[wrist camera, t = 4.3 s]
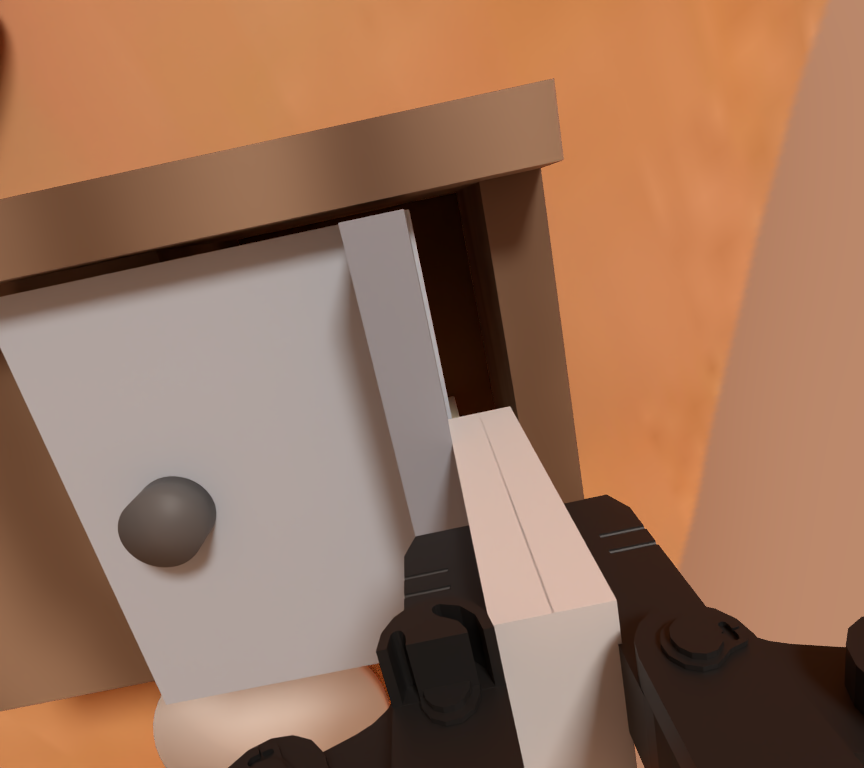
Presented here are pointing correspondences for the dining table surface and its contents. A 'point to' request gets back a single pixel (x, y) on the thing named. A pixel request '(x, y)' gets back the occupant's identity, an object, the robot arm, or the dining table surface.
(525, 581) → the robot arm
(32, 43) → the dining table surface
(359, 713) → the dish
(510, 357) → the wooden frame
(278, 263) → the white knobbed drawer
